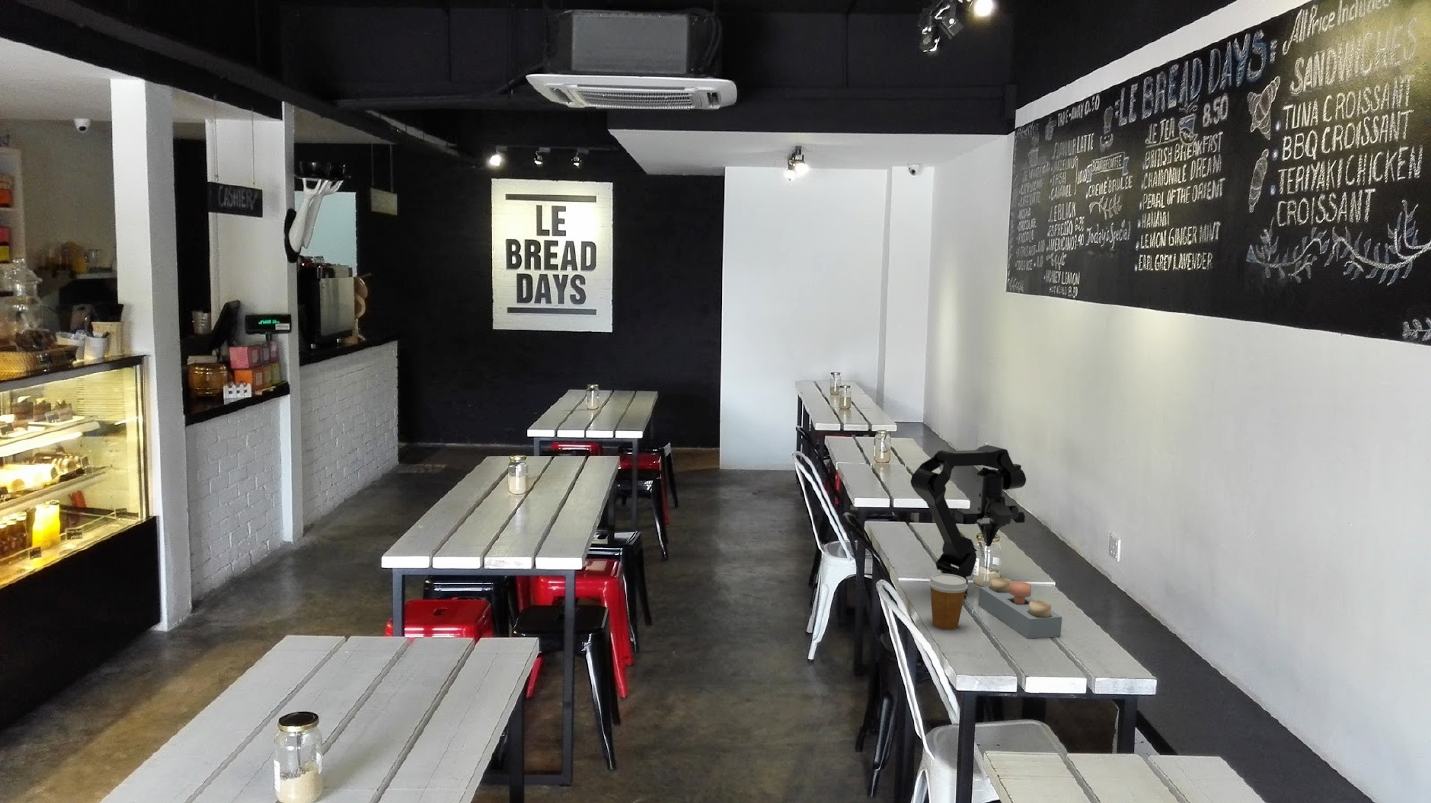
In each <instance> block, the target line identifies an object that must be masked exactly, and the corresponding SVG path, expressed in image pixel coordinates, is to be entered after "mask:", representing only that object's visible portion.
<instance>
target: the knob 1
mask: <svg viewBox="0 0 1431 803" xmlns="http://www.w3.org/2000/svg"><path fill="white" fill-rule="evenodd" d="M1011 582H1012V580H1011V579H1009V578H1005V577H1000V576H997V577H996V576H994V577H991V578H990V585H989V586H990V589H991V590H993V591H995V592H997V593H1002V592H1009V590H1010V583H1011Z"/></svg>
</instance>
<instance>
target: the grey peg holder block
mask: <svg viewBox="0 0 1431 803" xmlns="http://www.w3.org/2000/svg"><path fill="white" fill-rule="evenodd" d="M978 593H979V594H978V602H977V605H978V606H979V607H980V606H981V607H980V608H982V609H983V610H985V611H986V610H987V613H989V614H991V615H992V616H994V617H995V618H997V619H998V620H999V621H1001V622H1003V623H1004V624H1005V625H1007V627H1008V626H1009V627H1010V628H1011V629H1013V630H1015V631H1016V632H1018V634H1020V635H1022V636H1023V637H1025V638H1026V639H1028V640H1029V639H1032V640H1033V639H1043V638H1056V637H1057V638H1058V636H1060V637H1061V632H1062V623H1063V616H1061V615H1060V614H1058V613H1056V612H1055V611H1053V610H1052V609H1051V616H1049V617H1041V618H1036V617H1035V616H1034V615H1031V614H1030V613H1029V602H1030V601H1035V600H1036V599H1033V598H1031V596H1029V597H1025V603H1024V604H1022V605H1016V604H1014V596H1013V595H1011V594H1010V593H1009V592H1002V593H997V592H995V591H993V590H991V589H990V585H988V586H979V589H978Z"/></svg>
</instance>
